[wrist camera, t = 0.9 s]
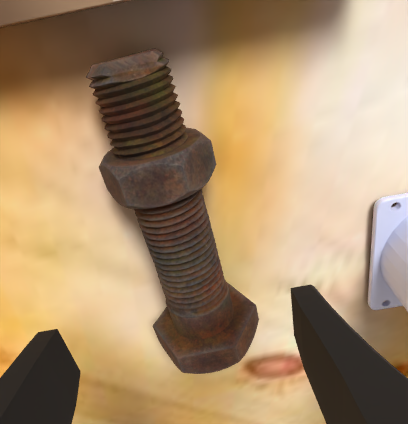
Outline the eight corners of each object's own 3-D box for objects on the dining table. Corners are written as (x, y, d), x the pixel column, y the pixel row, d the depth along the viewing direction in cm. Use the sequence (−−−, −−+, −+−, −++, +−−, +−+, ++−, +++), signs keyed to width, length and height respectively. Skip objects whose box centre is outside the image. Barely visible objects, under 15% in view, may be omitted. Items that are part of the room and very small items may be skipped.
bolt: (151, 44, 17) (217, 288, 24) (44, 75, 15) (149, 330, 22) (221, 34, 13) (277, 339, 20) (80, 75, 11) (199, 398, 18)
